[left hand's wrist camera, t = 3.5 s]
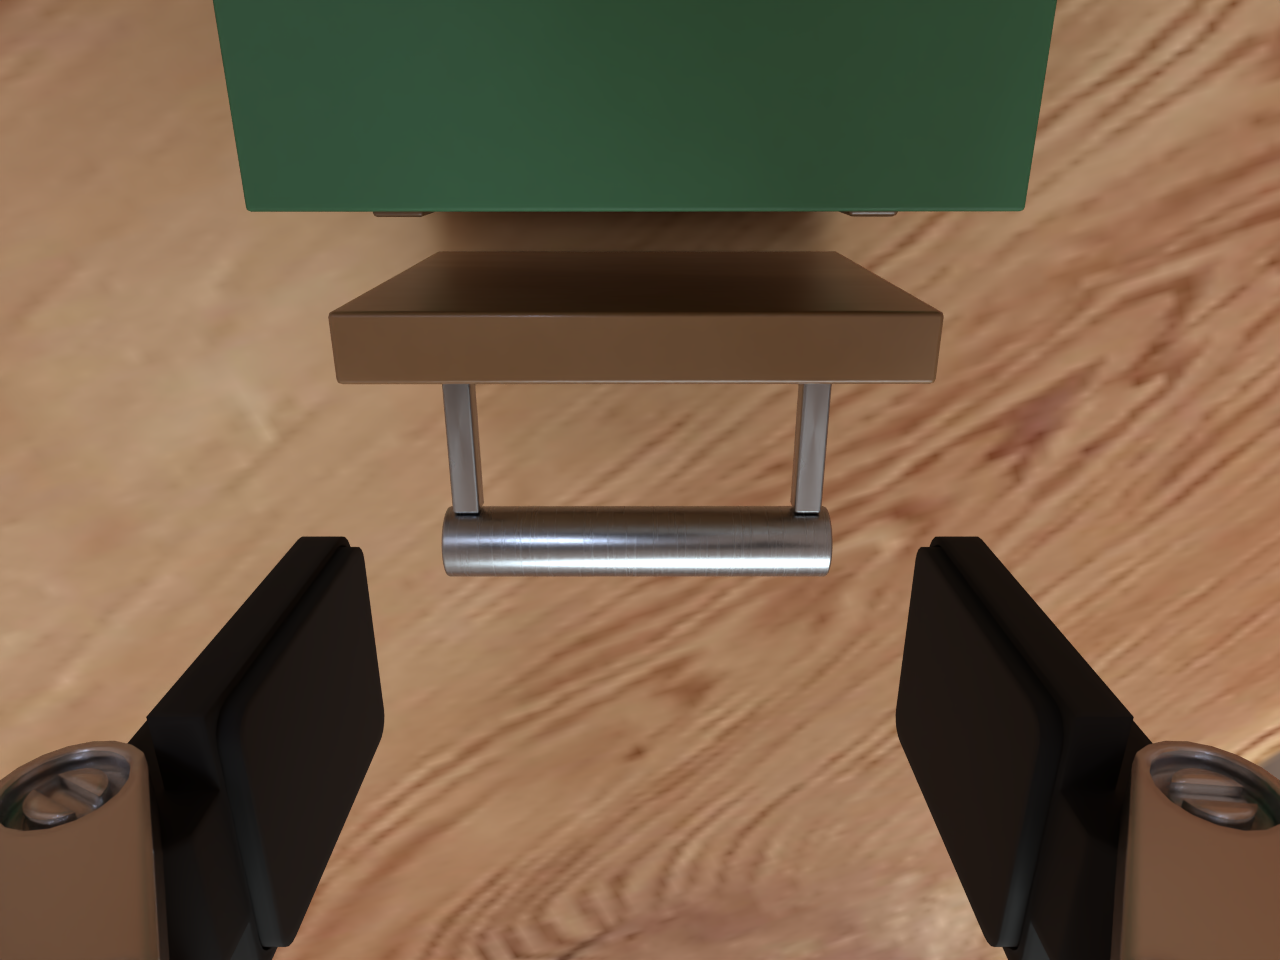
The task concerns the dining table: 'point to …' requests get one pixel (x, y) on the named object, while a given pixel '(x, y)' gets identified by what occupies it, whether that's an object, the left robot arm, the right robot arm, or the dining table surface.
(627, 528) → the drawer
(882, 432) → the dining table surface
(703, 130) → the cabinet
